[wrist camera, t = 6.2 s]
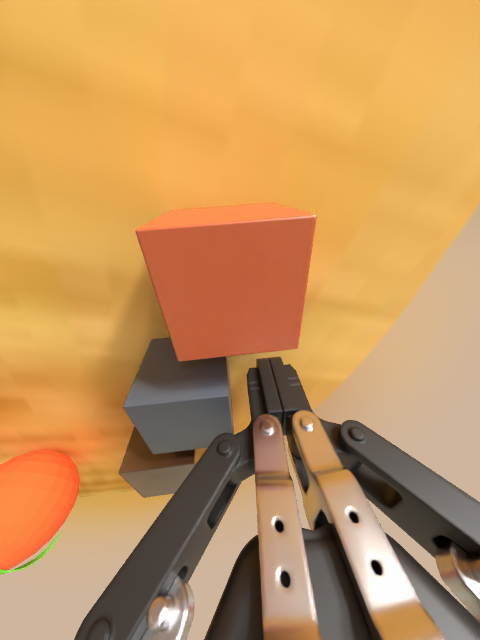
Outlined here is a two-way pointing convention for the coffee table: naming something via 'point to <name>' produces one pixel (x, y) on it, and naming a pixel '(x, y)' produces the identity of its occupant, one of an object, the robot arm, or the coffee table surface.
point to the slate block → (180, 400)
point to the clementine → (34, 504)
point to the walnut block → (156, 467)
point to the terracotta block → (230, 277)
